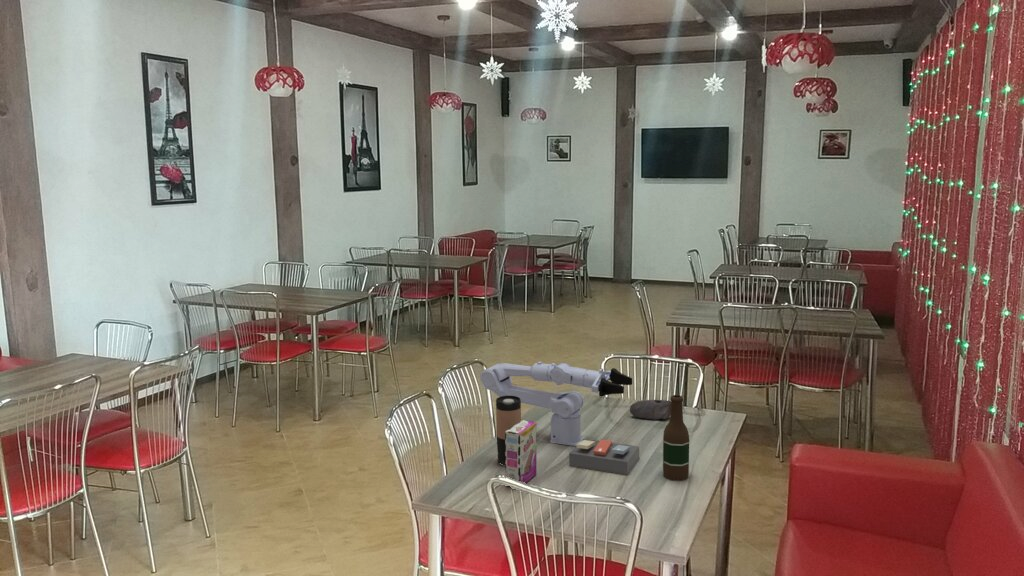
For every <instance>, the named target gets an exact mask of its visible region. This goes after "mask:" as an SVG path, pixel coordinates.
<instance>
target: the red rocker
mask: <svg viewBox="0 0 1024 576" xmlns="http://www.w3.org/2000/svg"><path fill="white" fill-rule="evenodd" d="M598 441H599V443H598V445H597V446H596V448H595V449H594V451H593V452H594V454H598V455H604V456H605V455H606V453H607V452H608V450H609V448H610V447H611V445H612V443H613V441H612V440H608V439H607V440H606V439H600V440H598Z"/></svg>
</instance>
